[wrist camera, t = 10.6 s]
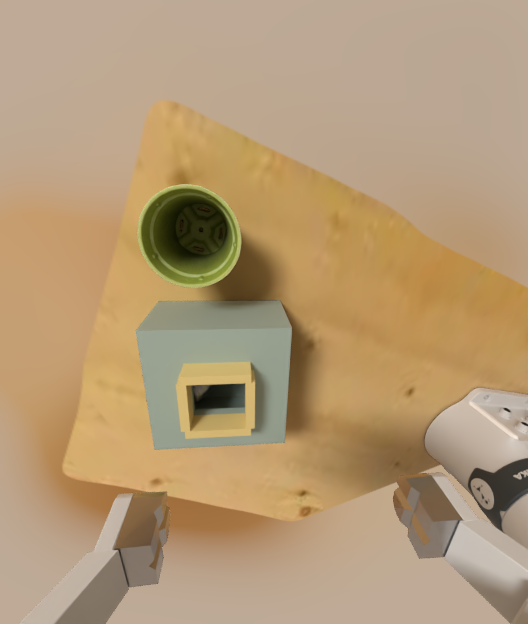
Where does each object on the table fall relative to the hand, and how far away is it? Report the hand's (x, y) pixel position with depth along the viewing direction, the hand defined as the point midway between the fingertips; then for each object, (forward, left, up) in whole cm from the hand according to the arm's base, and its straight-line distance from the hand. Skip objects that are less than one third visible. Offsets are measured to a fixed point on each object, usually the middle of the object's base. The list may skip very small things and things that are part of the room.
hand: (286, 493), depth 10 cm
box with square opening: (+4, +11, -29) cm, 31 cm away
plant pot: (+6, -6, -29) cm, 31 cm away
